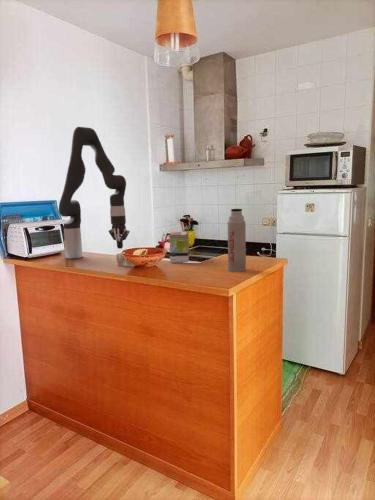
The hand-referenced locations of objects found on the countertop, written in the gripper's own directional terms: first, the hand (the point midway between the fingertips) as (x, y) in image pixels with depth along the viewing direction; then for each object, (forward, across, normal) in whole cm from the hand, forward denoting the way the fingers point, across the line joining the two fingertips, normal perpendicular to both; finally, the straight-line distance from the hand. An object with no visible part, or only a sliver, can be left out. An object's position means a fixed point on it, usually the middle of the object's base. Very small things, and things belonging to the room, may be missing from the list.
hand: (120, 248), depth 193 cm
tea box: (+9, +23, +21) cm, 32 cm away
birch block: (+5, 0, 0) cm, 5 cm away
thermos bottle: (+9, +61, +11) cm, 63 cm away
